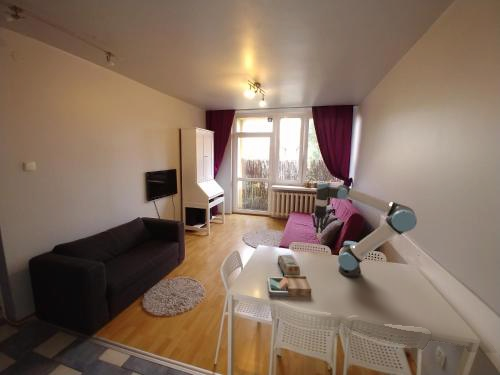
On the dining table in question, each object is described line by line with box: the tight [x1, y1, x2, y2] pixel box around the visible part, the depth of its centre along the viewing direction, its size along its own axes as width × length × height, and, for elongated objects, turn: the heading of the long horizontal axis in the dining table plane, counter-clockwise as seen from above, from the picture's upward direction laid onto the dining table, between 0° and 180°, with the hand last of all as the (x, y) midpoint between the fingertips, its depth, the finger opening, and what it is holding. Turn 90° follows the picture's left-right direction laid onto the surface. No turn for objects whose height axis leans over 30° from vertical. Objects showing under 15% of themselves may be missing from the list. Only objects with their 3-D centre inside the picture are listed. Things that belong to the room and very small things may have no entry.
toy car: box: [277, 254, 301, 277], centre depth 164 cm, size 11×25×10 cm, turn 7°
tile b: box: [269, 279, 280, 291], centre depth 142 cm, size 6×6×2 cm
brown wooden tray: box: [284, 275, 312, 297], centre depth 142 cm, size 14×14×5 cm
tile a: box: [279, 276, 289, 291], centre depth 142 cm, size 6×6×2 cm
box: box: [267, 276, 289, 298], centre depth 142 cm, size 11×16×3 cm
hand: (318, 237), depth 160 cm, fingers closed
